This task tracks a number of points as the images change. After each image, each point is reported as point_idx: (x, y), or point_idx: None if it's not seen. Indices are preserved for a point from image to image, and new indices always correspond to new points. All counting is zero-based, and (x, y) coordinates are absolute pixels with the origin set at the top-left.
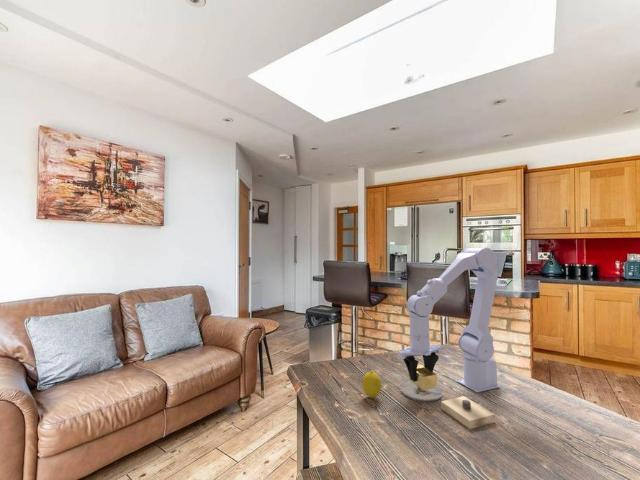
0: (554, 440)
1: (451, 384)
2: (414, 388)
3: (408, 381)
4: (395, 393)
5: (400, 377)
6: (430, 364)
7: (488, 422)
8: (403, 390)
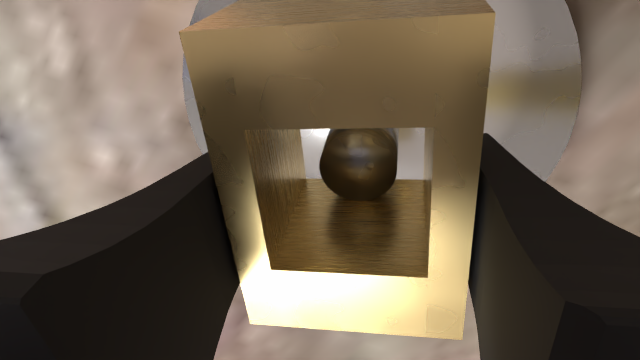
0: None
1: (57, 122)
2: None
3: None
4: (618, 155)
5: None
6: (169, 239)
7: None
8: (563, 140)
